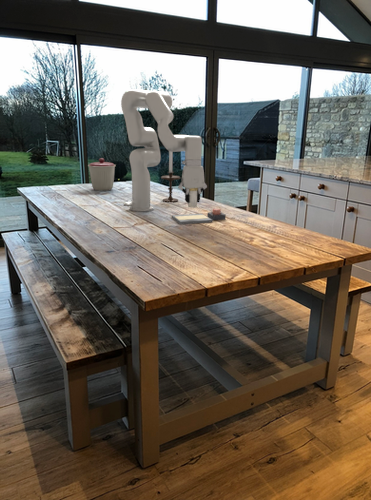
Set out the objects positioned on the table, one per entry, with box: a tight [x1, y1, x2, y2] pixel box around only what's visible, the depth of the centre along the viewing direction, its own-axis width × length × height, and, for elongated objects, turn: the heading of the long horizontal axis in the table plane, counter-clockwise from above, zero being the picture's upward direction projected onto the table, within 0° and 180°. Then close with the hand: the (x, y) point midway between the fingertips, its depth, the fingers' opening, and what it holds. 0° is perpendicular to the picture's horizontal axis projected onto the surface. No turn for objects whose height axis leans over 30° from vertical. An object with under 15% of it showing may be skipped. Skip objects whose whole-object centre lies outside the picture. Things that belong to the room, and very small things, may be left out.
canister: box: [87, 157, 117, 192], centre depth 273 cm, size 18×18×21 cm
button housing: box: [206, 211, 227, 221], centre depth 202 cm, size 7×7×2 cm
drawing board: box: [171, 213, 213, 225], centre depth 198 cm, size 16×14×1 cm
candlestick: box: [160, 150, 181, 203], centre depth 238 cm, size 11×11×35 cm
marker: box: [187, 188, 198, 209], centre depth 194 cm, size 5×5×11 cm
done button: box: [211, 208, 222, 215], centre depth 201 cm, size 4×4×3 cm
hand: (192, 201), depth 195 cm, fingers closed on marker, 4 cm apart
